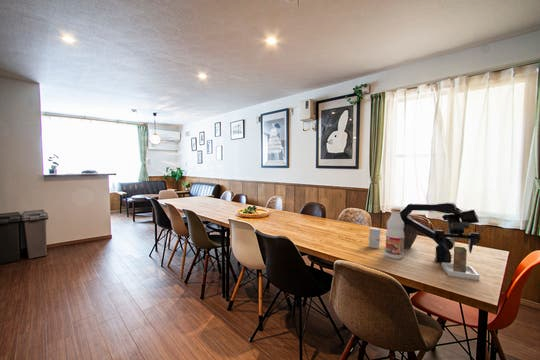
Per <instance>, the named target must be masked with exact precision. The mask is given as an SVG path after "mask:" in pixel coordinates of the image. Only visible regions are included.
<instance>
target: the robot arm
mask: <svg viewBox="0 0 540 360" xmlns="http://www.w3.org/2000/svg"><path fill="white" fill-rule="evenodd" d="M413 211H414V212H415V211H421V212H422V211H424V212H426V211H427V212H437V213H443V215H442V216H441V218H442V219H443V220H444V221H446V222H447V229H448V232H445V230H442V229H436V230H432V229H431V228H429V227H428V226H425V225H423V224H422V223H420V222H419V221H416V220H415V219H413V217H412V216H410V214H411V213H412V212H413ZM400 216H401V219H402V220H403V222H404V224H405V225H409V226H411V227H412V228H414V229H416V230H417V231H419V232H420V233H421V234H423V235H425V237H428V238H429V239H431V240H433V242H435V243H436V244H437V245H436V246H435V257H434V261H436V263H438V264H439V263H441V264H442V262H444V263H452V254H451V250H453V249H454V246H455V244H456V241H455V240H454V239H462V240H467V241H468V243H467V245H468V252H469V253H470V254H471V253H472V250H473V247H474V245H476V244H479V243H480V241H481V240H482V239H481V238H482V236H481V234H480V233H479V232H469V234H464V233H465V230H469V229H470V224H478V223H480V220H479V216H478V215H477V213H476V211H475V209H470V210H469V209H468V210H464V211H463V210H462V209H460V208H458V207H457V205H456V203H455V202H452V201H447V202H441V203H440V202H439V203H412V202H411V203H408V204H407V205H406V206H405V207H404V208H403V209H402V210H401V211H400ZM419 232H418V233H419Z"/></svg>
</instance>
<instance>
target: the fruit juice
mask: <svg viewBox="0 0 540 360" xmlns="http://www.w3.org/2000/svg"><path fill="white" fill-rule="evenodd" d="M390 211H391V213H390V217H389V218H388V220H386V228H387V229H386V231H385V232H386V233H385V256H386V257H387V258H391V259H395V260H396V259H397V260H401V259H404V250H405V249H404V248H405V247H404V231H403V228H404V222H403V220H402V219H401V216H400V212H401V211H402V210H401V208H396V207H393V208H391V209H390Z"/></svg>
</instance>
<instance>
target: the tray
mask: <svg viewBox="0 0 540 360" xmlns="http://www.w3.org/2000/svg"><path fill="white" fill-rule="evenodd" d="M441 267H442V269H443V271H444V272H445V274H446V276H448V277H453V278H461V279H465V280H466V279H467V280H473V281H480V274H478V272H477V271H476V270H475V269H474V268H473V267H472V266H471V265H467V264H466V273H464V272H457V271H454V270H453V263H452V262H450V263H444V262H442V263H441Z"/></svg>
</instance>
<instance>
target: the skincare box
mask: <svg viewBox="0 0 540 360" xmlns="http://www.w3.org/2000/svg"><path fill="white" fill-rule="evenodd" d="M368 236H369V237H368V247H369V248H373V249H379V248H380V242H381V241H380V240H381V239H380V238H381V228H376V227H370V228H369V235H368Z"/></svg>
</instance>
